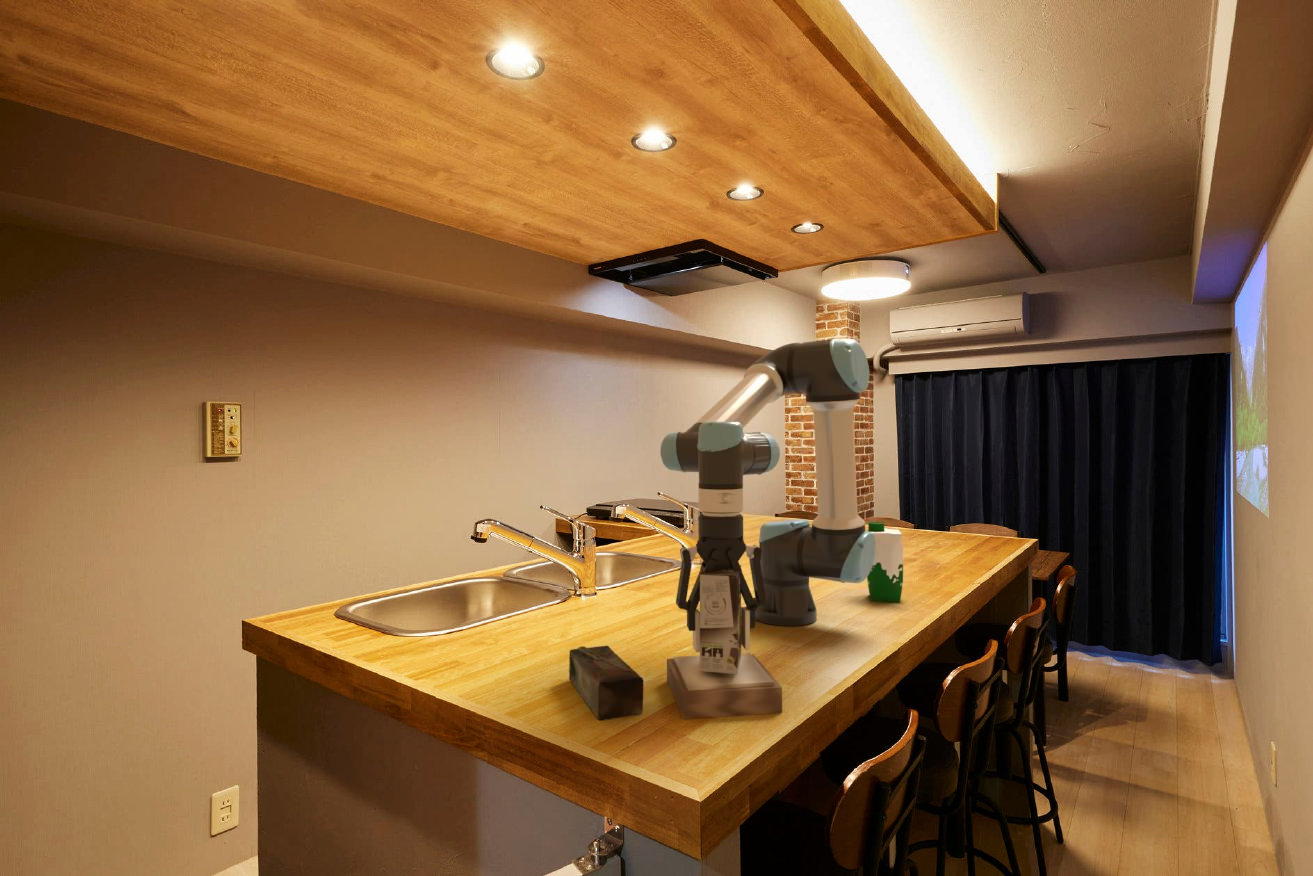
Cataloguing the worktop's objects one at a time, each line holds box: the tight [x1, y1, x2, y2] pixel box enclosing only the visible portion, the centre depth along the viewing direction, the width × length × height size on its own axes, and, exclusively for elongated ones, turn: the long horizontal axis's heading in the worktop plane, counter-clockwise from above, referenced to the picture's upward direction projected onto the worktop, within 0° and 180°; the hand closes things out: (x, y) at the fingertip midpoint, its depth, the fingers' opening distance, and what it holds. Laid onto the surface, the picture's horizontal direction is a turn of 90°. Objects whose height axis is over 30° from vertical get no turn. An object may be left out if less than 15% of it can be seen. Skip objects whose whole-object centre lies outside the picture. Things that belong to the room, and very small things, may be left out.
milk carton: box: [866, 521, 904, 603], centre depth 179 cm, size 9×9×20 cm
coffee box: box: [699, 564, 742, 674], centre depth 114 cm, size 9×6×16 cm
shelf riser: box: [666, 652, 783, 720], centre depth 114 cm, size 16×16×5 cm
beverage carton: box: [568, 645, 644, 721], centre depth 114 cm, size 8×19×6 cm, turn 22°
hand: (721, 648), depth 114 cm, fingers closed on coffee box, 8 cm apart
